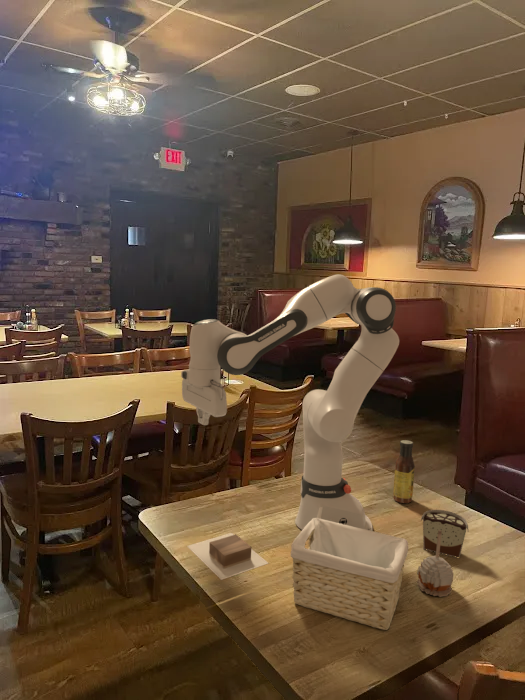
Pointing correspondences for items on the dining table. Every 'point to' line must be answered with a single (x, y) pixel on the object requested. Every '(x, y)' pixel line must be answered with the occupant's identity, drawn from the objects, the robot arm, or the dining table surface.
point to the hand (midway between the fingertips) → (203, 423)
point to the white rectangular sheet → (203, 554)
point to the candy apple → (435, 574)
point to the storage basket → (348, 571)
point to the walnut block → (230, 551)
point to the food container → (444, 531)
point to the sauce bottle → (404, 473)
